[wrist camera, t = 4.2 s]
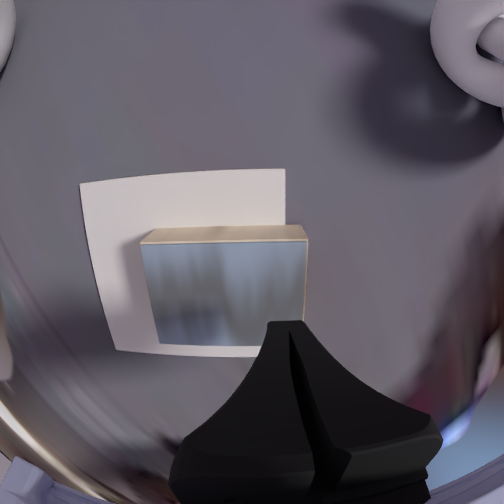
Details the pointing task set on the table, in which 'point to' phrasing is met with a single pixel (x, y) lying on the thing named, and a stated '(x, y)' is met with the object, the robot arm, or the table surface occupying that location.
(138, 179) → the white mat
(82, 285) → the table surface
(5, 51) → the donut
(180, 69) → the table surface
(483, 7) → the white torus knot
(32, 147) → the table surface
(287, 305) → the blue tan block
